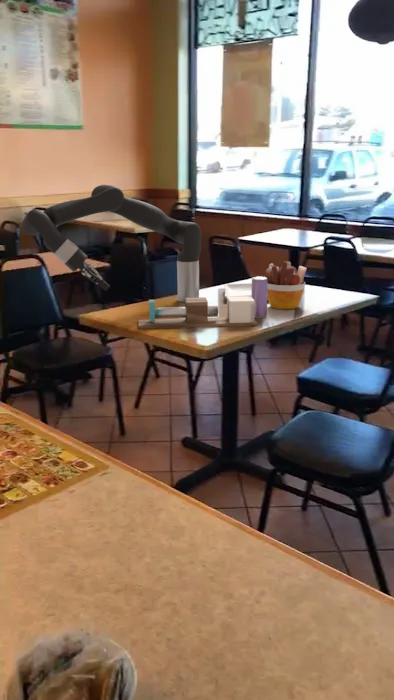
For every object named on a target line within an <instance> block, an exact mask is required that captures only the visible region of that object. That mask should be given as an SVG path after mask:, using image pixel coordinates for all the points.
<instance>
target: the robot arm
mask: <svg viewBox="0 0 394 700" xmlns="http://www.w3.org/2000/svg"><path fill="white" fill-rule="evenodd" d="M107 212H109V213H114V214H117V215H119V216H121V217H123V218H124V219H126V220H127V221H128V220H129V222H130V221H131V222H132V223H134V224H137V225H138V226H141V227H142V228H145V229H148V230H150V231H153V232H156V233H159V234H162V235H165V237H168V238H170V239H171V240H173V241H175V242H176V243H178V244H182V245H183V250H181V252H178V253H177V255H176V260H177V261H176V269H177V270H176V272H177V275H176V276H177V277H176V280H177V301H178V302H180V303H181V302H182V303H185V298H200V264H199V263H200V254H201V252H202V251H201V250H202V248H201V247H202V230H201V227H200V225H199V224H198V223H196V222H190V221H180V220H177V219H174V218H171V217H169V216H168V215H167V214H166V213H165V212H164V211H163V210H162V209H160V208H158V207H157V206H155V205H153V204H150V203H148V202H145V201H142V200H140V199H135V198H129V197H127V196H125V193H124V192H123V191H122V189H120V188H119V187H117V186H115V185H109V184H100V185H98V186H96V187H94V188H93V190H92V191H91V196H89V197H85V198H80V199H74V200H67V201H63V202H60V203H57V204H54V205H51V206H48V207H47V208H46V209H45V210H44V211H42V210H40V209H36V208H35V209H31V210H29V211H28V213H26V215H25V217H24V218H23V220H22V223H21V227H22V230H23V232H24V233H25V234H27V235H29V236H38V235H40V236H41V237H42V240H43V245H44V246H45V247H46V248H47V249H48V250H49V251H50V252H51V253H53V254H54V255H55V256H56V257H57V259H58V260H60V261H61V263H63V264H64V265H65V266H66V267H67V268H69V270H71V271H72V272H73V273H75V272H76V271H77V270H78V269H79V271H80V272H81V274H82V276H84V278H85V279H87V280H89V281H90V282H92V283H93V284H95V285H98V286H99V287H101V289H103V290H104V291H107V290H108V289H110V284H108V283H107V281H105V280H104V279H103V277H102V275H101V274H100V273H99V272H98V271H97V269H96V268H95V267H94V266H93V265H92V264H91V263H87V262H86V260H87V258H88V255H87V254H86V253H85V252H84V251H83V250H82V249H80V248H79V247H78V245H76V244H75V243H74V242H72V241H71V240H70V239H68V238H67V237H66V236H65V235H64V234H63V233H61V231H59V229H58V228H57V226H61V225H64V224H66V223H67V224H68V223H70V222H72V221H76V220H78V219H81V218H84V217H88V216H91V215H95V214H100V213H107Z"/></svg>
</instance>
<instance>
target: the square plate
mask: <svg viewBox="0 0 394 700" xmlns="http://www.w3.org/2000/svg"><path fill="white" fill-rule="evenodd" d="M236 296H252V282H251V283H231V284H229V283H228V284H227V283H226V284H224V297H225V299H226V300H227V297H236ZM267 303H269V300H268V295H267Z"/></svg>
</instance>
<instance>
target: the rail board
mask: <svg viewBox="0 0 394 700" xmlns="http://www.w3.org/2000/svg"><path fill="white" fill-rule="evenodd" d="M184 303H185V307H187V318H156V319H155V321H149V318H148V319H147V318H146V319H145V318H144V319H138V330H149V329H182V328H183V329H184V328H186V329H187V328H216V327H217V328H218V326H223V327H246V326H247V327H249V326H251V325H257V326H258V322H257V320H256V319H255V318H254V322H253V323H229V319H227V316H226V317H225V316H223V317H221V316H220V317H219V316H218V317H208V306H209V305H208V304H209V302H208V300H207V297H205V296H204V297H203V296H202V297H200V296H199V298H185V302H184ZM251 327H252V326H251Z"/></svg>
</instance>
